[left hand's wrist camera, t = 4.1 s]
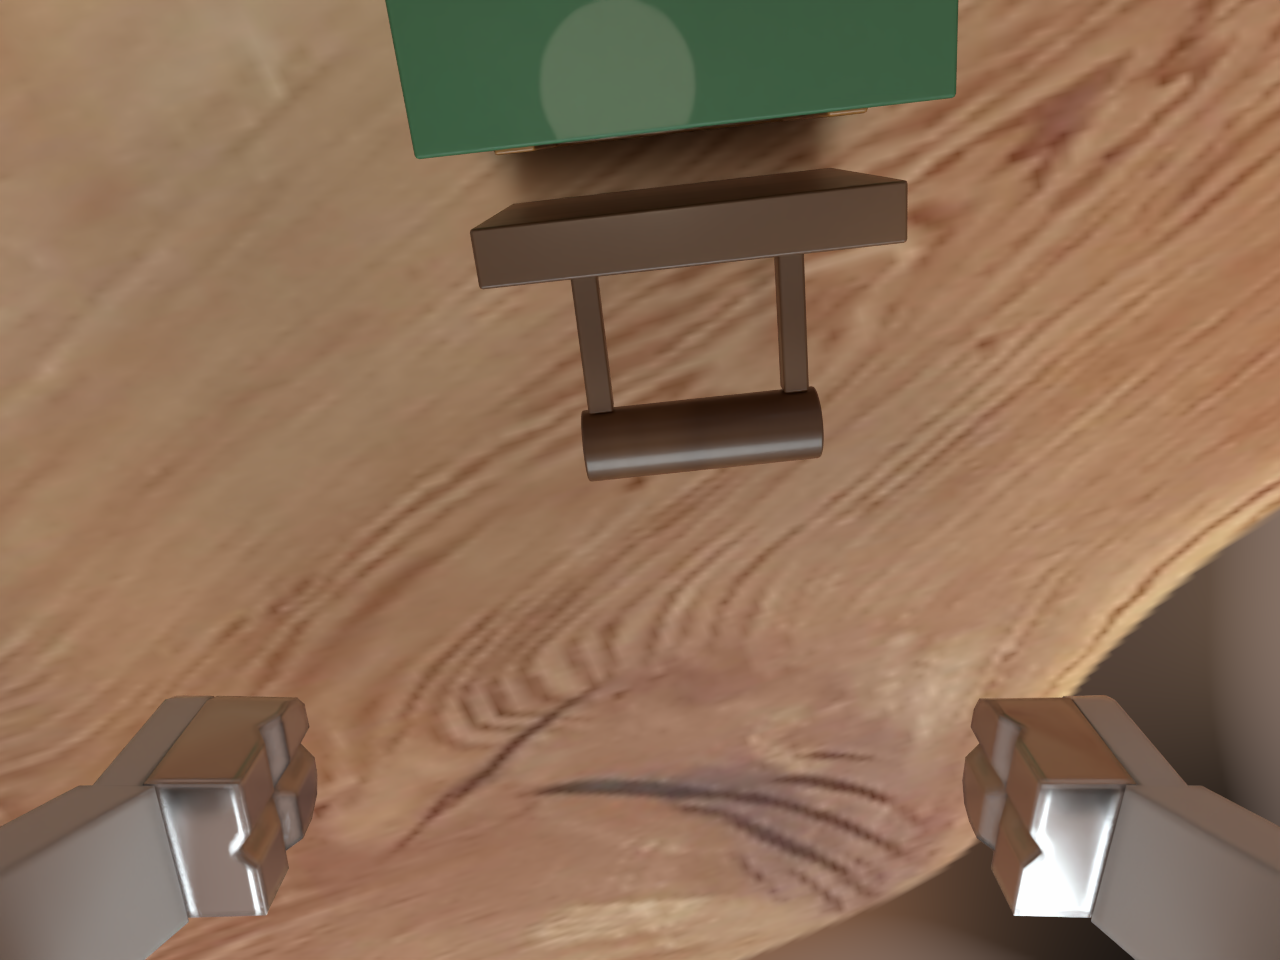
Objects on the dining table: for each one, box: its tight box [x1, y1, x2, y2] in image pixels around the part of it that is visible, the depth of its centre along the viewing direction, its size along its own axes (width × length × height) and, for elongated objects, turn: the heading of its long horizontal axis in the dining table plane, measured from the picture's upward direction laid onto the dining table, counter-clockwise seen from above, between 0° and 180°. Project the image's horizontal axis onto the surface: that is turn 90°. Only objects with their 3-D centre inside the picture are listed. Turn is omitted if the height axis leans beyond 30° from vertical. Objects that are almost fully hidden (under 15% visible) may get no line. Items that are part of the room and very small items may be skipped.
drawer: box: [470, 108, 907, 481], centre depth 19 cm, size 21×9×7 cm, turn 6°
